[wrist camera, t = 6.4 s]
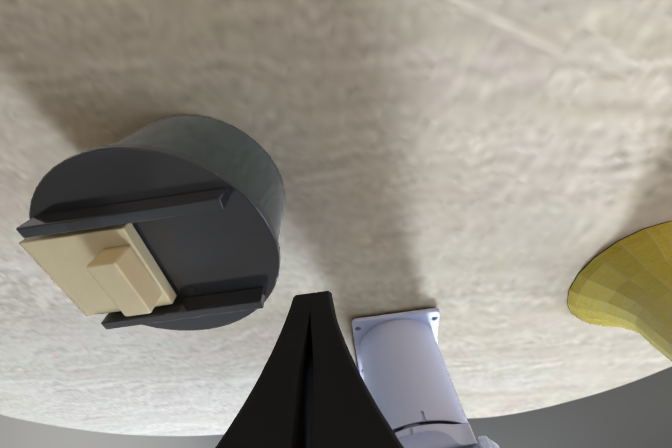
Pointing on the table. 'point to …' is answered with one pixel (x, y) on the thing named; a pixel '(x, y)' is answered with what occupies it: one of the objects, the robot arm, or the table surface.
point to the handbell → (630, 287)
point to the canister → (178, 214)
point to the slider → (103, 269)
